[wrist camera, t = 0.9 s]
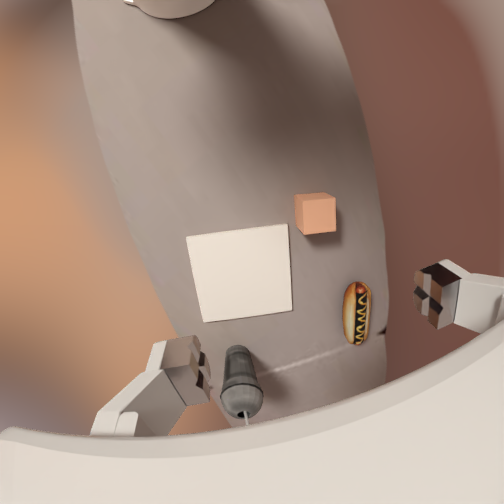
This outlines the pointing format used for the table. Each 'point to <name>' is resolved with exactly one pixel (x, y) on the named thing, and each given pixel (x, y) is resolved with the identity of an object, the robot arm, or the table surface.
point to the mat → (242, 272)
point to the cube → (315, 213)
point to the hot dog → (356, 312)
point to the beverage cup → (240, 385)
